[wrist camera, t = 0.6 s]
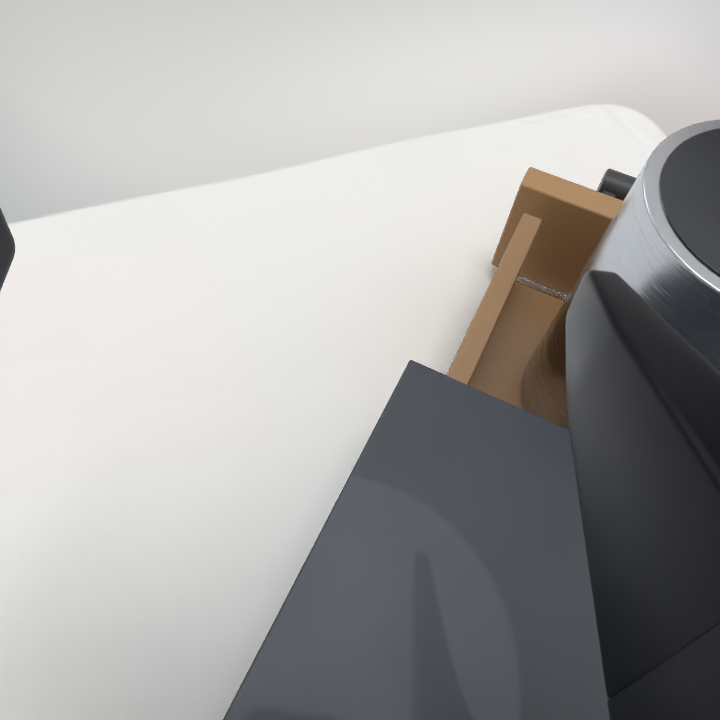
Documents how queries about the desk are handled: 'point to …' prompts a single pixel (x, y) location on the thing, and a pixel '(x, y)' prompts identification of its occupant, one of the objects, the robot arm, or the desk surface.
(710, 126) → the steel cup
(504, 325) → the drawer
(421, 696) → the organizer
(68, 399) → the desk surface
